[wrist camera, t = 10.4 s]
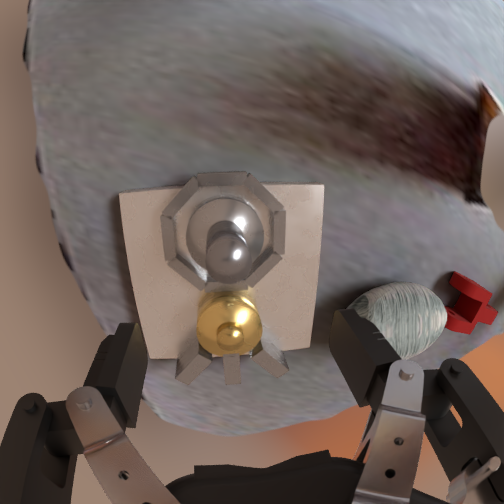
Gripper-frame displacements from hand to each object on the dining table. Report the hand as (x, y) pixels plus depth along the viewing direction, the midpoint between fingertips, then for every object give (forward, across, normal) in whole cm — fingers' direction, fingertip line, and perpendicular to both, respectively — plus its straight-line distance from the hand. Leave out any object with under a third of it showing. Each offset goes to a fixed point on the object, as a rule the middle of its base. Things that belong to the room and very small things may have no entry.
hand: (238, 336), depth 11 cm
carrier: (+17, 0, +5) cm, 18 cm away
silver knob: (+15, 0, 0) cm, 15 cm away
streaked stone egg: (+17, -19, +11) cm, 28 cm away
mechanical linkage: (+17, -37, +13) cm, 43 cm away
